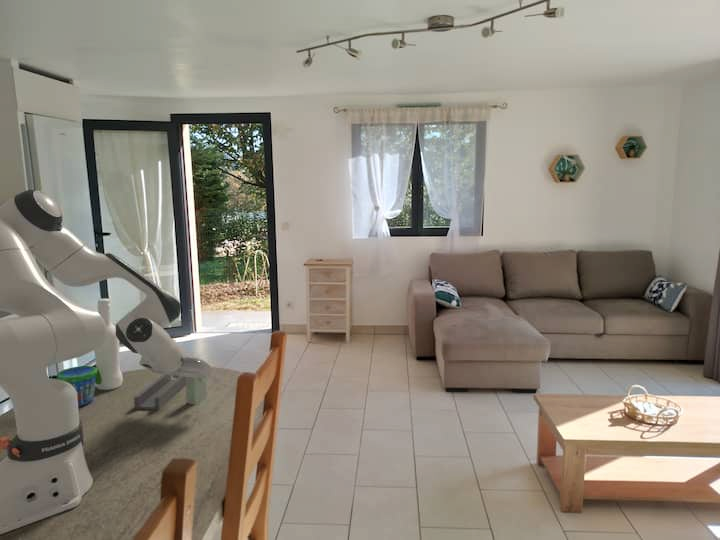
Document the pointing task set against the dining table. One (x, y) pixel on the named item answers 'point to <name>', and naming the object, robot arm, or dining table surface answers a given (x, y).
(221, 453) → the dining table surface
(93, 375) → the snack cup
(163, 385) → the track
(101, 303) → the bottle
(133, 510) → the dining table surface
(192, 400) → the door panel
